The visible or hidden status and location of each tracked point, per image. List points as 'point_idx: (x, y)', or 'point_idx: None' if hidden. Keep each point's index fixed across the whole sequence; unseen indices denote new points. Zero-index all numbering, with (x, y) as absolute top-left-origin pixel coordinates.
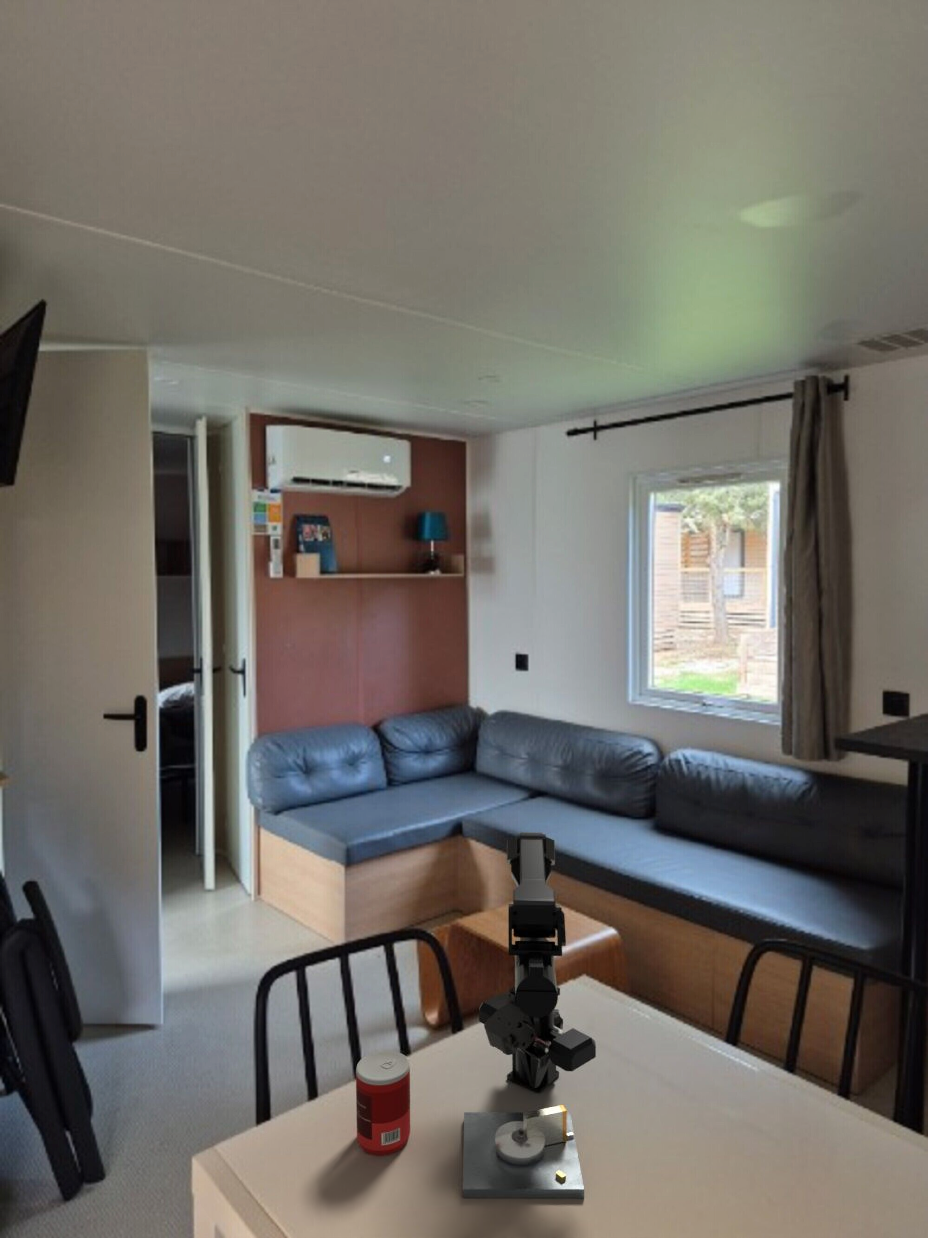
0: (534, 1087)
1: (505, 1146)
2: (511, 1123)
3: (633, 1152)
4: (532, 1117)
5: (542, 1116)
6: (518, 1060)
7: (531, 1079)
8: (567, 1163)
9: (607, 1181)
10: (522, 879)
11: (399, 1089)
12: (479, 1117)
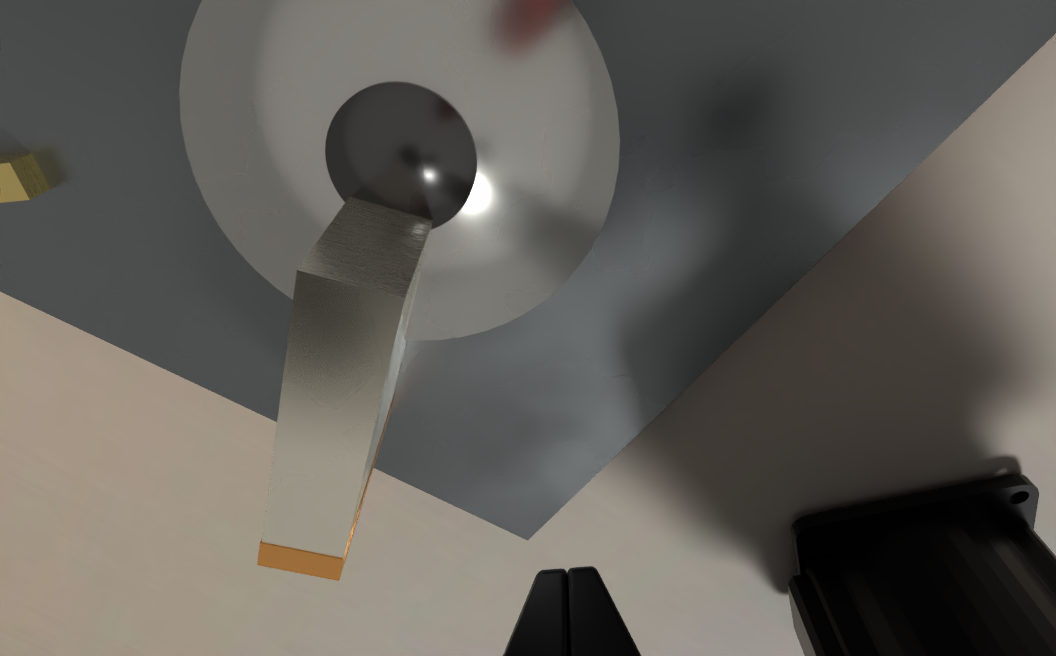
0: (537, 576)
1: None
2: (588, 208)
3: (200, 564)
4: (292, 327)
5: (281, 404)
6: (1029, 615)
7: (573, 640)
8: (144, 297)
9: (43, 385)
10: None
11: None
12: (914, 88)
